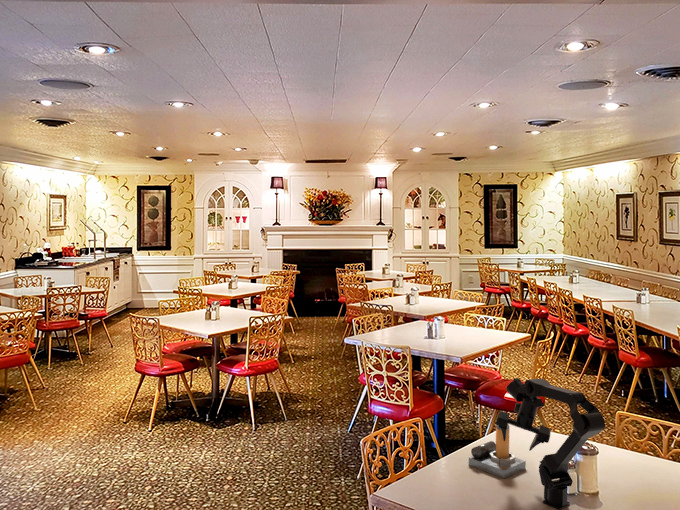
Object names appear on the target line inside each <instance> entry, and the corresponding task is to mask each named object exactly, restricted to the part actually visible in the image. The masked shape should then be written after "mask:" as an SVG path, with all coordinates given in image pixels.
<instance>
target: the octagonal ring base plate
mask: <svg viewBox="0 0 680 510" xmlns="http://www.w3.org/2000/svg"><path fill="white" fill-rule="evenodd" d="M470 451H471V456H469V457H468V466H470V467H473V468H476V469H477V470H480V471H483V472H486V473H488V474H491V475H493V476H495V477H499V478H500V479H508V478H510V477H511V476H513V475H517V474H518V473H519V472H522V471H523V470H524V471H525V470H526V467H527V466H526V465H527V461H526V460H524V459H521V458H518V457H516V456H515V454H514V453H512V452H510V451H509V458H508V459H504V458H498V457H496V442H495V441H492V440H490V441H487V442H485V443H481V444H480V445H476V446H475V447H472V448H471V450H470Z"/></svg>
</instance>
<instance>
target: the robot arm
mask: <svg viewBox="0 0 680 510" xmlns="http://www.w3.org/2000/svg"><path fill="white" fill-rule="evenodd" d="M506 392H507V393H508V394H509V395H510V396H511V397H512V398H513V399H514V400H515V402H516V403H515V406H514V409H513V412H515V413H517V414H516V419H513V418H510V413H507V412H505V411H502V410H500V411H498V412H497V417H496V420H495V426H496V425H498V427H499V428H501V430H502V433H503V440H504V441H505V439H506V434H507V427H508V425H509V426H510V425H511V426H513V427H516V428H519V429H521V430H524V431H528V432H529V433H530V432H531V433H534V434H535V435H534V438H533V440H532V441H531V444H530V446H529V449H528V450H529V452H530V451H532V450H533V449H534V448H535V447H536V446H539V444H544V443H547V444H548V443H549V442H550V439H551V432H552V429H551V428H550V427H546V426H544V425H542V424H540V425H539V427H536V426H534V425H533V424H534V421H535V418H536V415H537V413H538V410H539V408H544V407H545V403H544V402H543V400H542V398H548V399H550V400H554V401H557V402H560V403H564V404H566V405H568V407H569V413H570V414H569V416H570V418H571V419H572V421H573V423H572V432H571V433H570V434H569V435H568V437H567V438H566V439H565V440H564V442H563V443H562V445H560V447H559V449H557V451H556V452H555V453H550V454H545V455H544V456H543V457H542V459H541V460H540V461H539V465H538V472H539V477H540V483H541V485H542V486H543V487H544V488H543V499H544V500H542V503H543V504H544V505H547V506H550V507H552V508H555V509H557V510H562V509H564V508H566V507H568V506H569V505H570V501H568V492H569V491H568V490H569V489H568V487H571V486H572V485H573V483H574V481H573V479H572V478H571V475H570V474H569V463H570V462H571V461H572V460H573V459H574V457H575V456H576V454H577V453H578V452H579V451H580V450H581V448H582V447H583V446H584V445H585V443H587V441H588V440H589V439H591V438H593V437H594V436H596V435H598V434H600V433H601V432H602V431H604V430H605V429H606V425H607V424H606V419H605V418H604V416H603V415H602V413H601V411H600V410H599V409H598V407H597V406H596V405H594V404H593V403H592V402H591V401H590V400H588V399H587V397H586V395H585V394H584V393H583V392H581V391H574V390H570V389H567V388H563V387H559V386H556V385H553V384H551V383H550V381H548V380H546V379H544V378H531V379H526V380H525V381H524V383H523V382H522V380H521V379H520V378H519V377H515V378H513V380H512V381H511V382H509V384H508V385H507V386H506ZM539 397H540V398H539ZM541 397H542V398H541ZM578 406H579V407H581V409H583V410H585V412H586V413H580V411H579V409H578Z"/></svg>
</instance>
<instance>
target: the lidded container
mask: <svg viewBox="0 0 680 510" xmlns="http://www.w3.org/2000/svg"><path fill="white" fill-rule="evenodd" d="M495 444H496V457H498V458H504V459H508V458H509V452H510V424H508V427H507V434H506V439H505V441H504V440H503V433H502V430H501V428H499V427H498V425H496V424H495Z"/></svg>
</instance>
